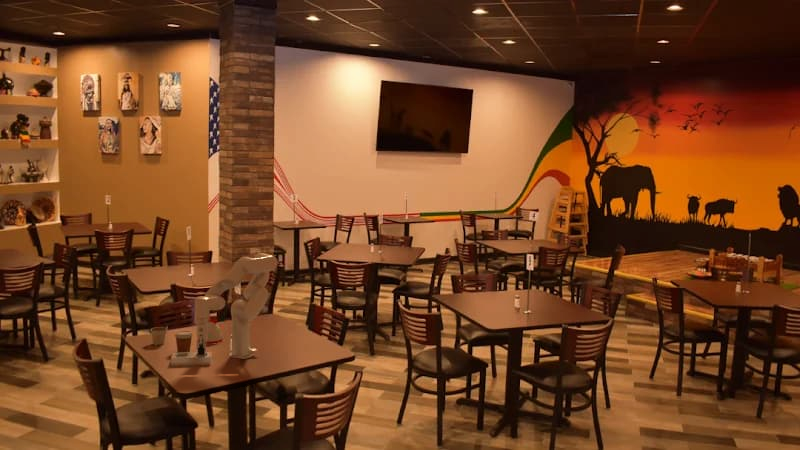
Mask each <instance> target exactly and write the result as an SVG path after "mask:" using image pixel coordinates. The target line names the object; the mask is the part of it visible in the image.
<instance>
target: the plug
mask: <svg viewBox="0 0 800 450" xmlns="http://www.w3.org/2000/svg"><path fill="white" fill-rule="evenodd" d="M202 344H203V343H202ZM198 346H199V342H197V343H196V351H198ZM206 352H207V344H206V343H204V355H198V356H206Z"/></svg>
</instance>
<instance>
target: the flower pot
mask: <svg viewBox="0 0 800 450" xmlns="http://www.w3.org/2000/svg"><path fill="white" fill-rule="evenodd" d="M167 330H168V328H167V327H164V326H161V327H160V326H159V327H157V326H156V327H152V328H150V330H149V331H150V334H151V339H152V344H153V345H155V346H157V345H159V346H160V345H164V344H165V339H166V334H167Z"/></svg>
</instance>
